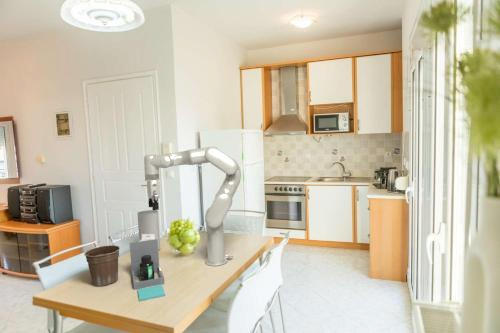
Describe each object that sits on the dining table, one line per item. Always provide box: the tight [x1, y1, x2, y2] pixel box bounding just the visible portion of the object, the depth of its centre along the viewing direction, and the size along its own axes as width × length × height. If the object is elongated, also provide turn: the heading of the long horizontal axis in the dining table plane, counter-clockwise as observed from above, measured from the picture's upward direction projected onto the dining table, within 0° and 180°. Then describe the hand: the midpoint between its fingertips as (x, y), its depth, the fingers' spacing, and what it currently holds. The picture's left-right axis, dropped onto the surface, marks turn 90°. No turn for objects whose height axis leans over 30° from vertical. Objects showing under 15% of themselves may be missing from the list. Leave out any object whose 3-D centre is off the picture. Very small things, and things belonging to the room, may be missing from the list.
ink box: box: [138, 234, 155, 242], centre depth 197 cm, size 9×5×15 cm, turn 84°
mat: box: [137, 284, 166, 302], centre depth 152 cm, size 11×11×1 cm
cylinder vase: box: [137, 209, 161, 252], centre depth 213 cm, size 12×12×25 cm
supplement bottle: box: [139, 255, 156, 281], centre depth 167 cm, size 7×7×12 cm
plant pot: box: [83, 245, 121, 287], centre depth 167 cm, size 16×16×16 cm
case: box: [129, 239, 165, 290], centre depth 168 cm, size 14×20×17 cm
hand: (153, 208), depth 183 cm, fingers open, 9 cm apart
